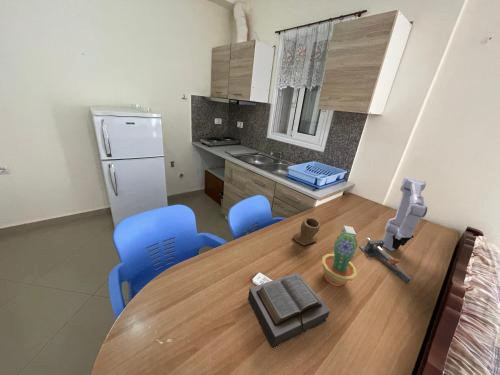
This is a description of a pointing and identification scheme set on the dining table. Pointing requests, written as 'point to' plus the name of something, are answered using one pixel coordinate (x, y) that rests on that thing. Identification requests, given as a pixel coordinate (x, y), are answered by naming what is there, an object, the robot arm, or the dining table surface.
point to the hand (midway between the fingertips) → (397, 246)
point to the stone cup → (308, 231)
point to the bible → (286, 308)
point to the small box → (348, 230)
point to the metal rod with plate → (385, 254)
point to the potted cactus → (341, 260)
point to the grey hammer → (383, 258)
